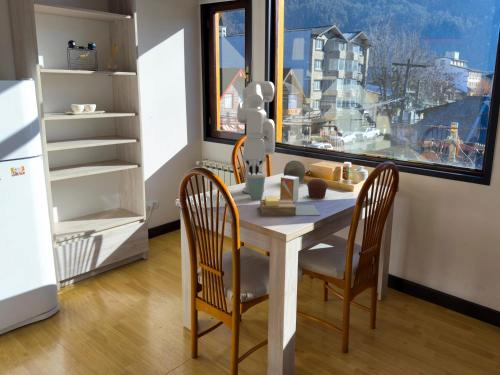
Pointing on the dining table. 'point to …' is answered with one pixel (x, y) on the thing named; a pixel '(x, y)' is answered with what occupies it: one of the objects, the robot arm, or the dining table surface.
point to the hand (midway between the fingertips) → (253, 173)
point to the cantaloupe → (295, 169)
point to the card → (271, 201)
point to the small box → (289, 188)
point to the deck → (278, 208)
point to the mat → (306, 210)
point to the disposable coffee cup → (256, 184)
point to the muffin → (317, 188)
